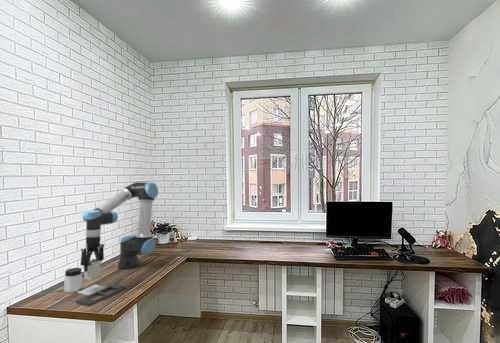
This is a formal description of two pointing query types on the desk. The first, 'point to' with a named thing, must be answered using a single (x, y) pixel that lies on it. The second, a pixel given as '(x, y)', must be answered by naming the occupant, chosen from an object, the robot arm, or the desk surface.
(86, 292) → the parts mat
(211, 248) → the desk surface
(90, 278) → the pale translucent bottle
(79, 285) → the jar
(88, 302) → the rack rail
